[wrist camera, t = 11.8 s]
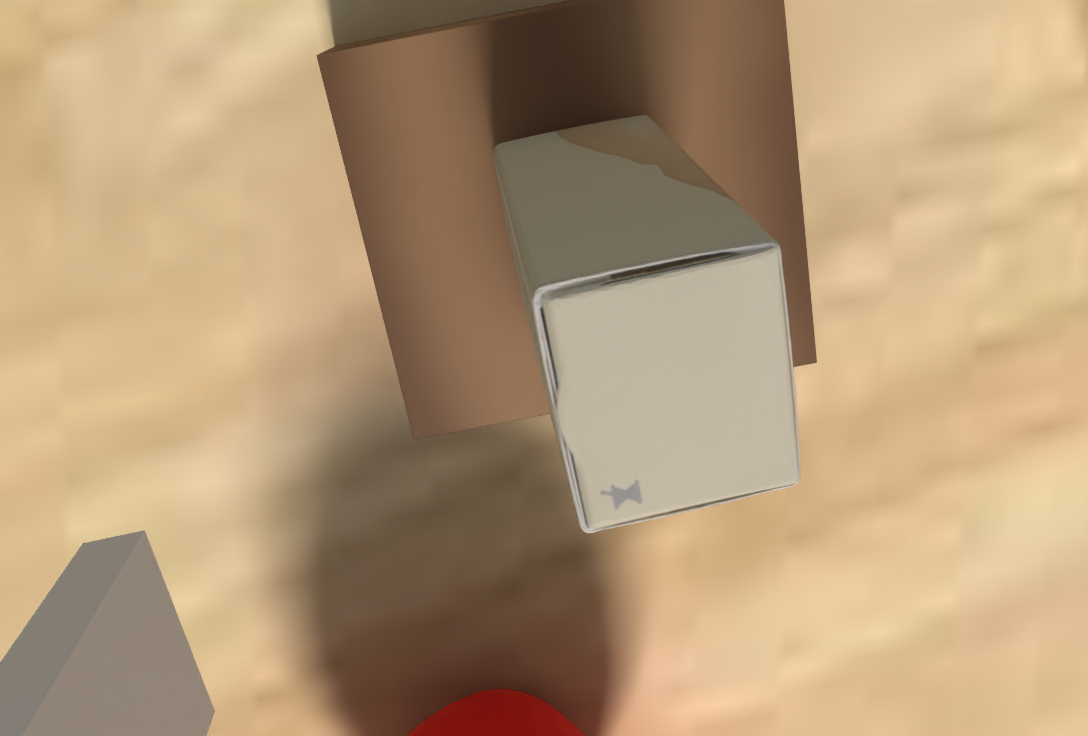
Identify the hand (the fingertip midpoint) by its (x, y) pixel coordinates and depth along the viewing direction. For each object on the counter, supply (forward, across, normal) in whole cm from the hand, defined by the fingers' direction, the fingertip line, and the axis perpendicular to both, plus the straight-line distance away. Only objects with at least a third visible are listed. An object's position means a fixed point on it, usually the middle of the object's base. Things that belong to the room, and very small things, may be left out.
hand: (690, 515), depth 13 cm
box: (+16, 0, 0) cm, 16 cm away
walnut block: (+20, 0, 0) cm, 21 cm away
